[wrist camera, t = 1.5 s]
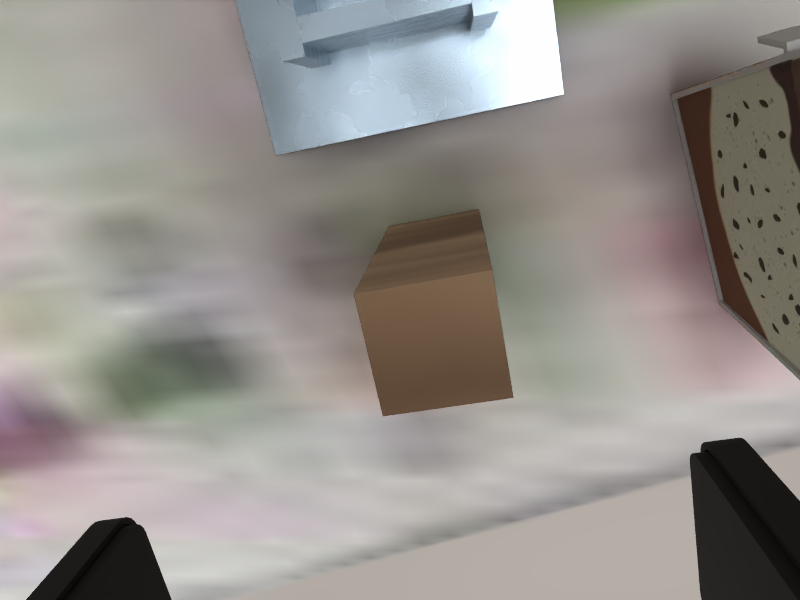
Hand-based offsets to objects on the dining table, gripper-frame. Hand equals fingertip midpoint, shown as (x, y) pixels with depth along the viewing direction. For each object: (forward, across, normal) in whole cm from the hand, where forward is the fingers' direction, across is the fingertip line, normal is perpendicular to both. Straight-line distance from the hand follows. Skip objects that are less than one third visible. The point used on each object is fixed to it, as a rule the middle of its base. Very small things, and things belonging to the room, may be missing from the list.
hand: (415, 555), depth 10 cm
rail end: (+18, 0, -1) cm, 18 cm away
